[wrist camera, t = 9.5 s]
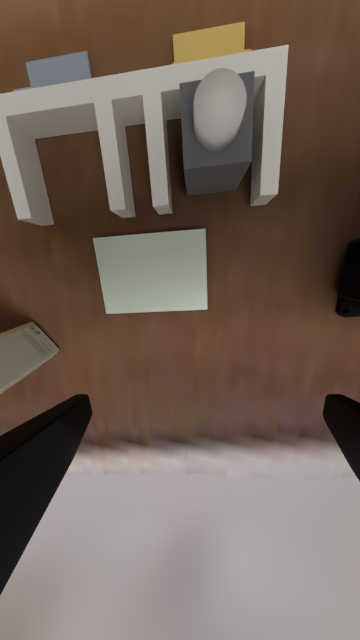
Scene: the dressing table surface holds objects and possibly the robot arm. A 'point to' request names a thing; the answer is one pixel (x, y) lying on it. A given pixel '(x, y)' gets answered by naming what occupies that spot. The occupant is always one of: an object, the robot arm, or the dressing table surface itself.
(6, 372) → the skincare box
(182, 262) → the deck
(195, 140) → the plug
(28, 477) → the robot arm
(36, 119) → the socket board
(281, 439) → the dressing table surface
